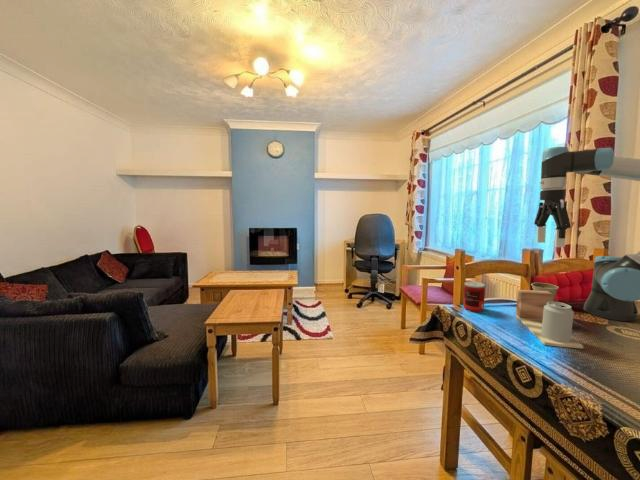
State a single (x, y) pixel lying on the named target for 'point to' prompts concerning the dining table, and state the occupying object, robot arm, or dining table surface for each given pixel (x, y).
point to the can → (557, 322)
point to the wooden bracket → (537, 315)
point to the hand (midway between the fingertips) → (549, 244)
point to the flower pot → (545, 288)
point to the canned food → (474, 296)
